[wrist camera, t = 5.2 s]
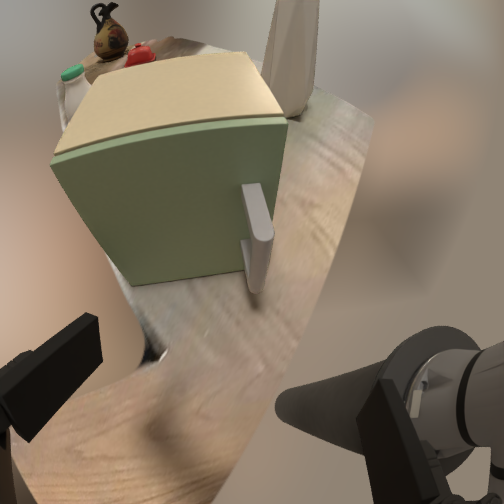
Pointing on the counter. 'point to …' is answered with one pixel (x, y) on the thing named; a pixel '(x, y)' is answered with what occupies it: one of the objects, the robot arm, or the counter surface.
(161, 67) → the cupboard
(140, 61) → the butter dish
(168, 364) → the counter surface
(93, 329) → the robot arm
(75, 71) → the milk bottle
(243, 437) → the counter surface
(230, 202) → the cupboard door
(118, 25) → the ceramic jug
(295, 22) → the tall faceted taper
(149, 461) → the counter surface
